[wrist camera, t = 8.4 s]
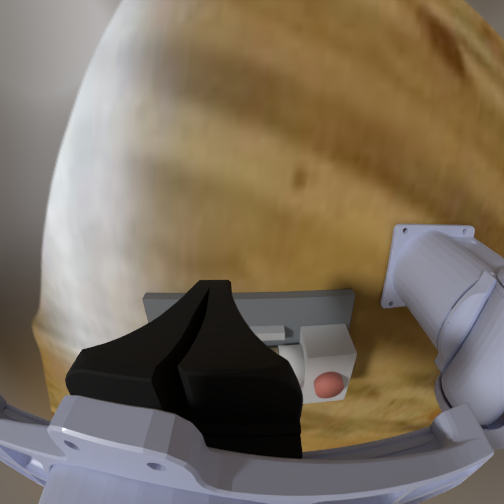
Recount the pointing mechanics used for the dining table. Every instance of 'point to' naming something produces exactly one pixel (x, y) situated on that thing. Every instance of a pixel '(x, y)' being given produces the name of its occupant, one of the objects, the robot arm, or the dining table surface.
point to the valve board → (296, 333)
